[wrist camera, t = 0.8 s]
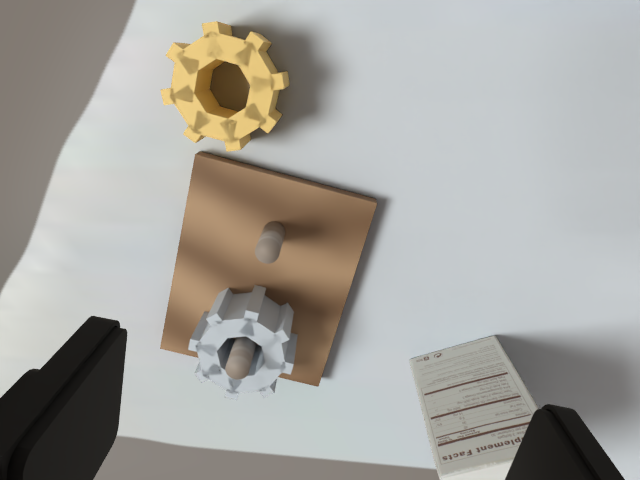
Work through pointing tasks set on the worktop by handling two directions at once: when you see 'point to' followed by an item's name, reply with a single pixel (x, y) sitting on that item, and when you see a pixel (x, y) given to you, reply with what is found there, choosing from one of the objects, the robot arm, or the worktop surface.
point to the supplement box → (472, 409)
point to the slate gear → (257, 324)
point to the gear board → (284, 279)
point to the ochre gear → (196, 78)
